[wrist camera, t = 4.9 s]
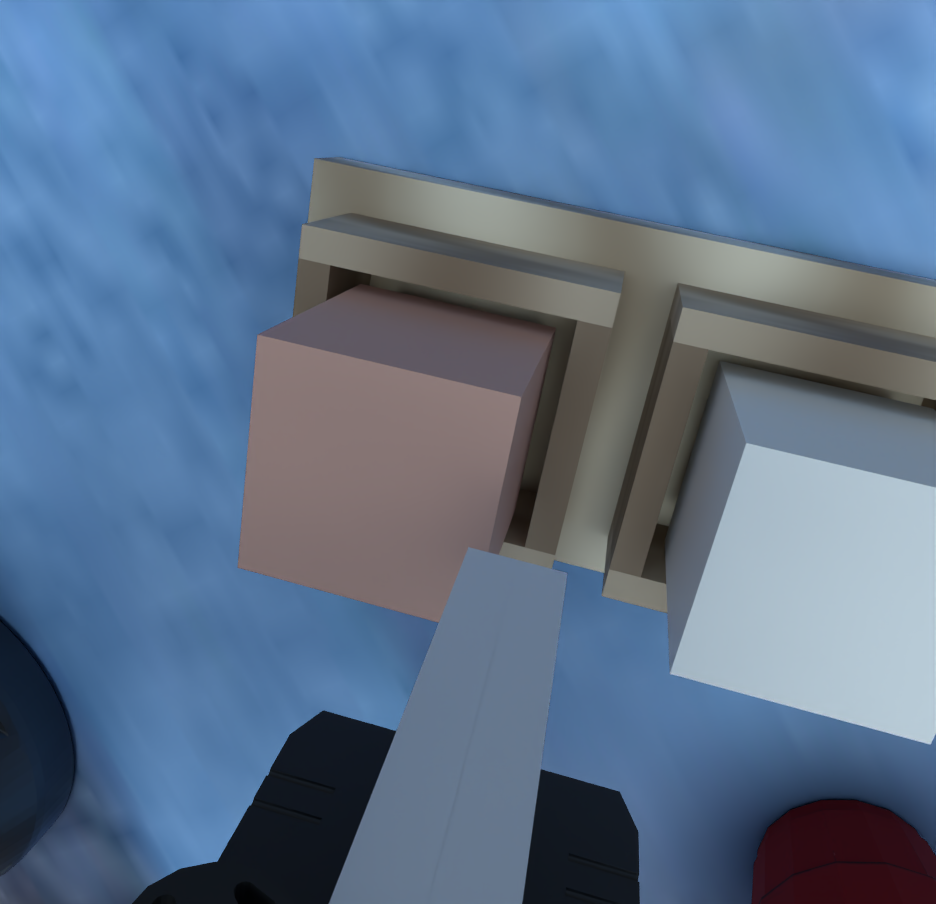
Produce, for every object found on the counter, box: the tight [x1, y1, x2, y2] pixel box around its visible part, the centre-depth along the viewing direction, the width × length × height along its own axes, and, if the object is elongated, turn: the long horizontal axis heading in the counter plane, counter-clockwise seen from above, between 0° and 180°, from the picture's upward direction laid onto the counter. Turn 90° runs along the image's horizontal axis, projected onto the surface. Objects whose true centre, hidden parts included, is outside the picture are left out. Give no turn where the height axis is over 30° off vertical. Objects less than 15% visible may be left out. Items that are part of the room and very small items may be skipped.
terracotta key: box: [238, 284, 556, 623], centre depth 19 cm, size 5×5×6 cm
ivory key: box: [665, 361, 936, 744], centre depth 18 cm, size 5×5×6 cm
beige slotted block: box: [293, 157, 936, 613], centre depth 22 cm, size 28×10×6 cm, turn 79°
